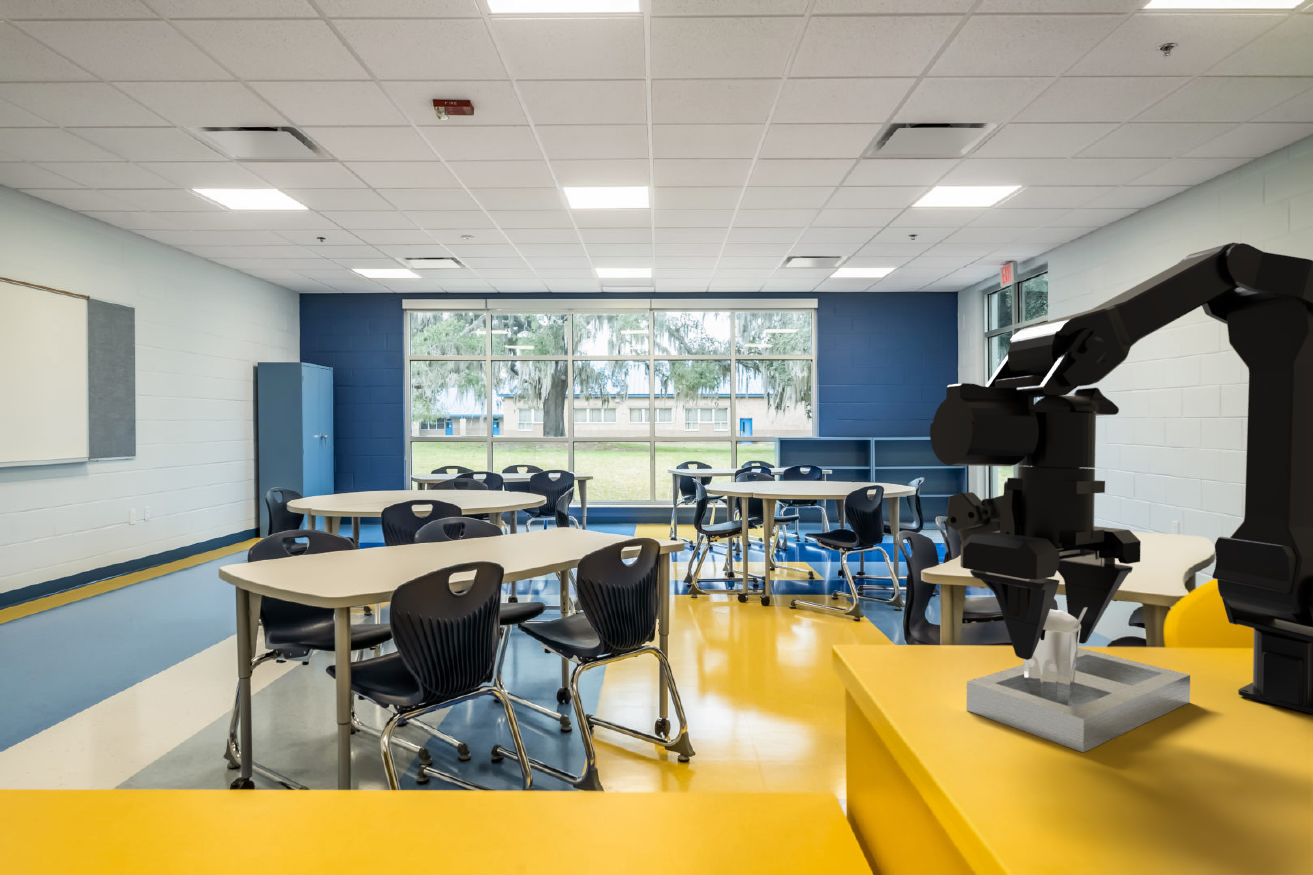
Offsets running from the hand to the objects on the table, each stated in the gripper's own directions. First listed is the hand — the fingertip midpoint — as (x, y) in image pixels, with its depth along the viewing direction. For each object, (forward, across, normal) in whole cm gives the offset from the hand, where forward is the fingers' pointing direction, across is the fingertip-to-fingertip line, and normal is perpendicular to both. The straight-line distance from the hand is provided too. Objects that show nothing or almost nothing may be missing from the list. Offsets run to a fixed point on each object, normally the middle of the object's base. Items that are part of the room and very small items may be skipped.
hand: (1052, 649), depth 59 cm
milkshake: (+6, 0, 0) cm, 6 cm away
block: (+6, -5, 0) cm, 8 cm away
